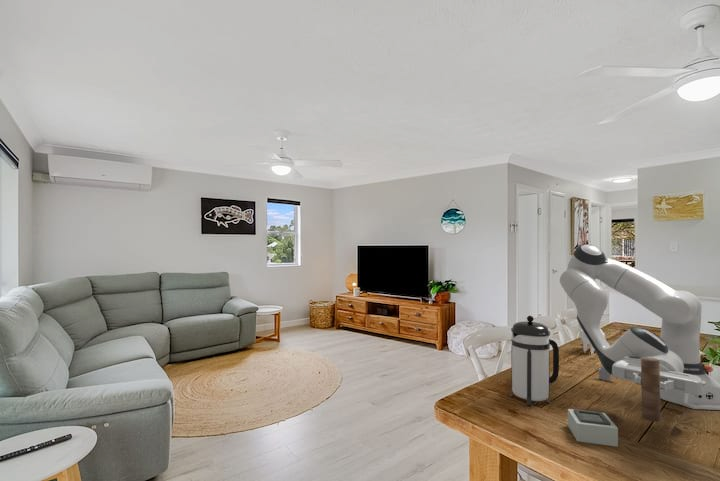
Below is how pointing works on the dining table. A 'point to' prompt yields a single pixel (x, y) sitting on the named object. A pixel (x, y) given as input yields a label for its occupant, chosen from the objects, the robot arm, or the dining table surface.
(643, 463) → the dining table surface
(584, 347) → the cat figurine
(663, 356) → the robot arm
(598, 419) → the collar block
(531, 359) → the coffee press
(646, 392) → the dowel
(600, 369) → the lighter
